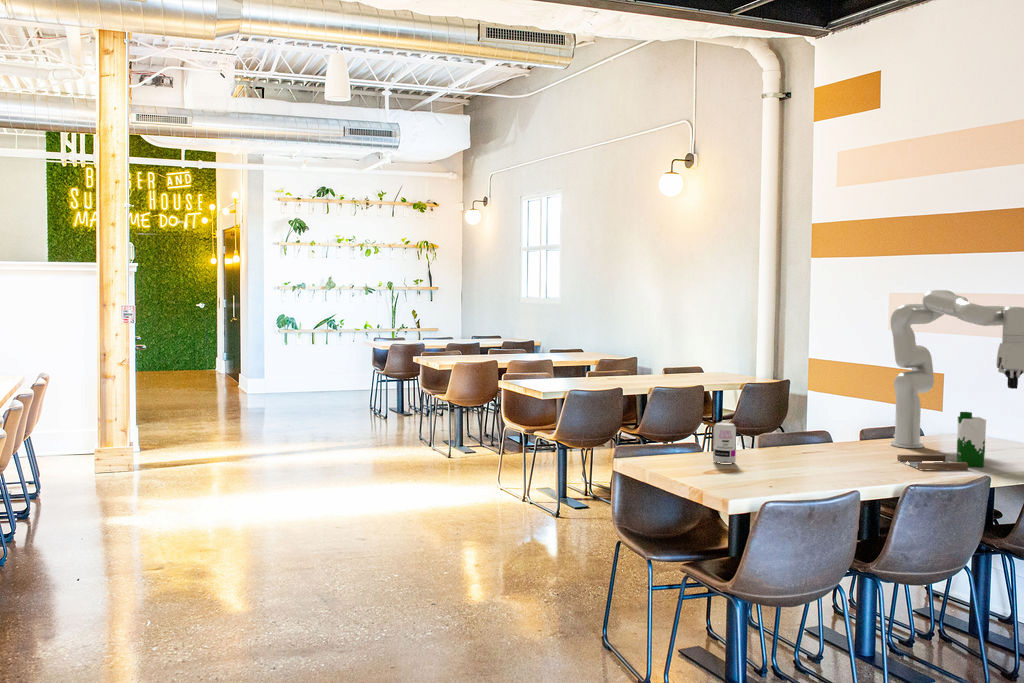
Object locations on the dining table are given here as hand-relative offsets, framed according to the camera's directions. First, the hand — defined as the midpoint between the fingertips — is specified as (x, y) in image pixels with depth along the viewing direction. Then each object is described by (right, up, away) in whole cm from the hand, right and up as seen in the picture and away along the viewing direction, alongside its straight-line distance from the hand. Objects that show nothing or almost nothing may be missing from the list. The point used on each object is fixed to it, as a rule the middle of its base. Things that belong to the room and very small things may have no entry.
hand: (1012, 388), depth 321 cm
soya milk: (-15, -29, +1) cm, 33 cm away
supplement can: (-108, -29, +5) cm, 111 cm away
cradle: (-30, -29, +1) cm, 42 cm away
